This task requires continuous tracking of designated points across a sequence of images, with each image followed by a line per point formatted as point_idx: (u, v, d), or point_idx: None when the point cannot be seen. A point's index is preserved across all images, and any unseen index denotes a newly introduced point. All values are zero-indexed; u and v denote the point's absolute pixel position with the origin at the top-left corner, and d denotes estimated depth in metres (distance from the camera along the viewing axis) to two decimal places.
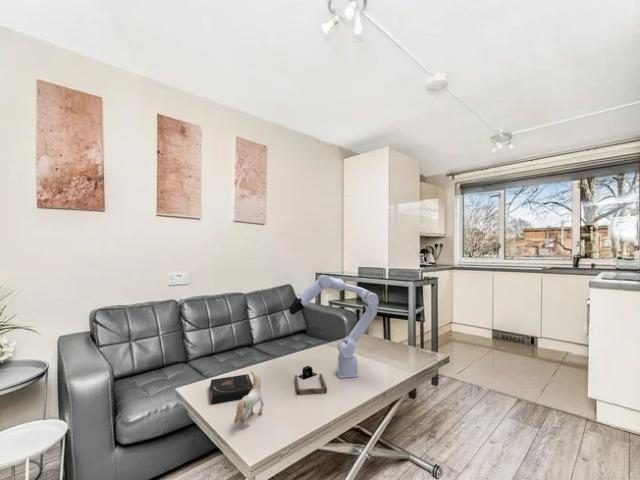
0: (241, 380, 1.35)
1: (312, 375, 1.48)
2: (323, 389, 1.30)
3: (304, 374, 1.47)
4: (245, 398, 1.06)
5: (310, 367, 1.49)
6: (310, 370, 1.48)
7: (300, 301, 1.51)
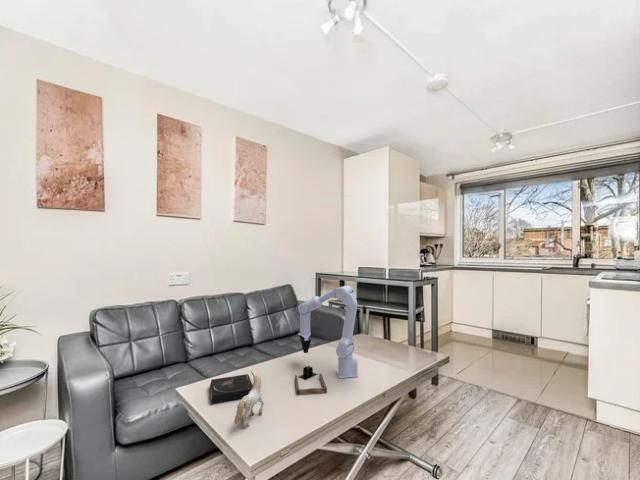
0: (241, 380, 1.35)
1: (313, 375, 1.48)
2: (323, 389, 1.30)
3: (305, 374, 1.47)
4: (245, 398, 1.06)
5: (311, 367, 1.48)
6: (311, 370, 1.48)
7: None
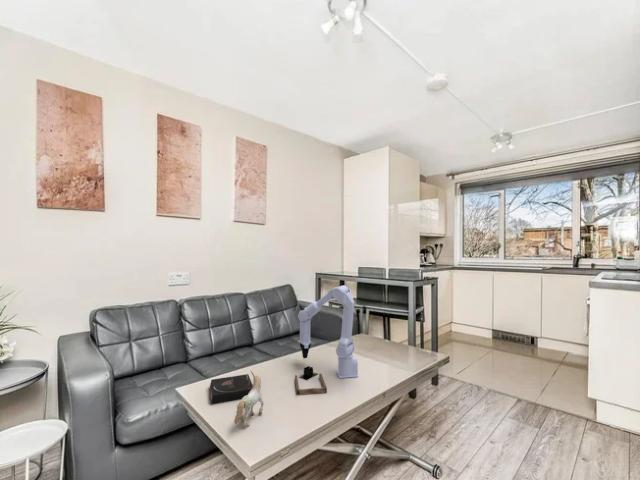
0: (241, 380, 1.35)
1: (313, 375, 1.48)
2: (323, 389, 1.30)
3: (305, 374, 1.47)
4: (245, 398, 1.06)
5: (311, 367, 1.48)
6: (311, 370, 1.48)
7: None
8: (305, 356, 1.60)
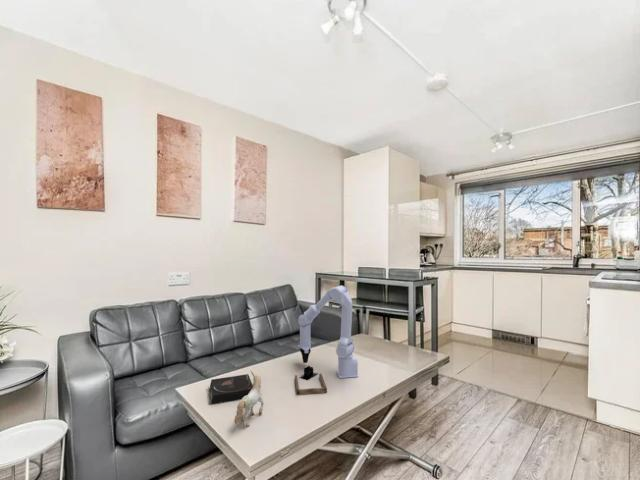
0: (241, 380, 1.35)
1: (313, 375, 1.48)
2: (323, 389, 1.30)
3: (306, 375, 1.46)
4: (245, 398, 1.06)
5: (311, 367, 1.48)
6: (311, 370, 1.48)
7: None
8: (305, 361, 1.59)
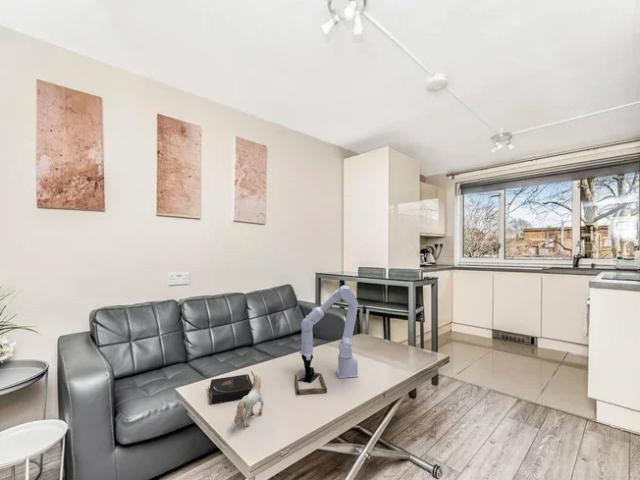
0: (241, 380, 1.35)
1: (314, 375, 1.47)
2: (323, 389, 1.30)
3: (308, 376, 1.45)
4: (245, 398, 1.06)
5: (312, 368, 1.47)
6: (312, 371, 1.47)
7: None
8: None
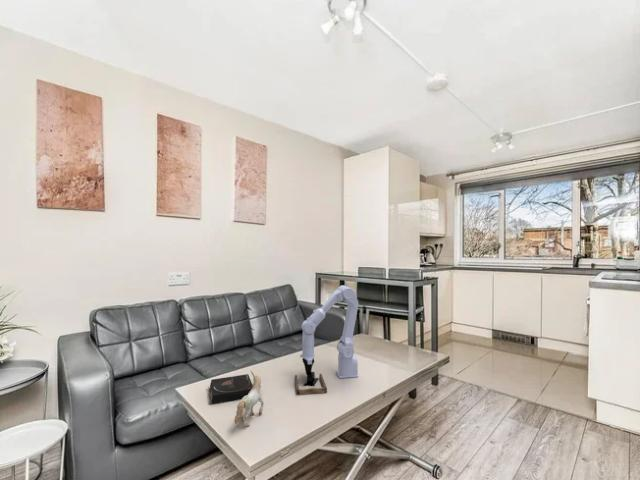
0: (241, 380, 1.35)
1: (315, 380, 1.42)
2: (323, 389, 1.30)
3: (310, 381, 1.39)
4: (245, 398, 1.06)
5: (313, 372, 1.42)
6: (314, 375, 1.42)
7: None
8: None
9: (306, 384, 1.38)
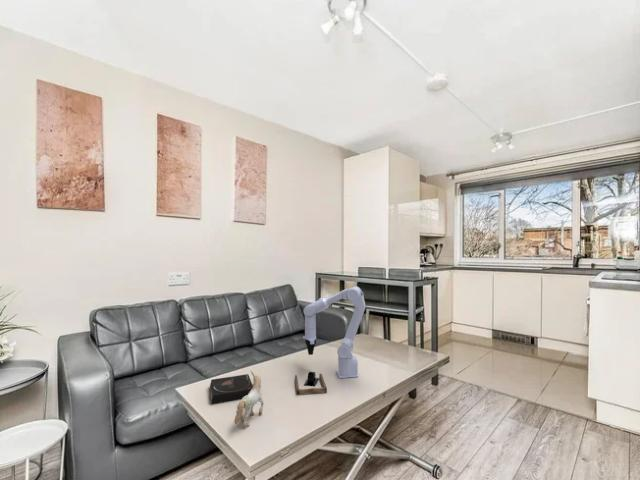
0: (241, 380, 1.35)
1: (316, 380, 1.42)
2: (323, 389, 1.30)
3: (310, 381, 1.39)
4: (245, 398, 1.06)
5: (314, 372, 1.42)
6: (314, 375, 1.42)
7: None
8: (311, 352, 1.54)
9: (307, 384, 1.38)
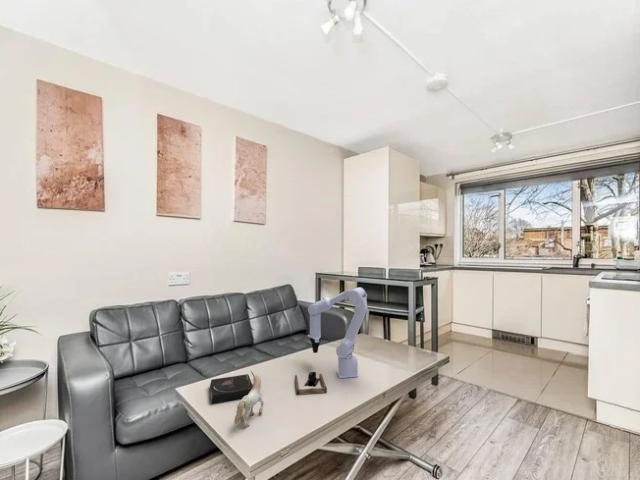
0: (241, 380, 1.35)
1: (317, 380, 1.42)
2: (323, 389, 1.30)
3: (311, 381, 1.39)
4: (245, 398, 1.06)
5: (315, 372, 1.42)
6: (315, 375, 1.42)
7: None
8: (315, 351, 1.57)
9: (307, 384, 1.38)
